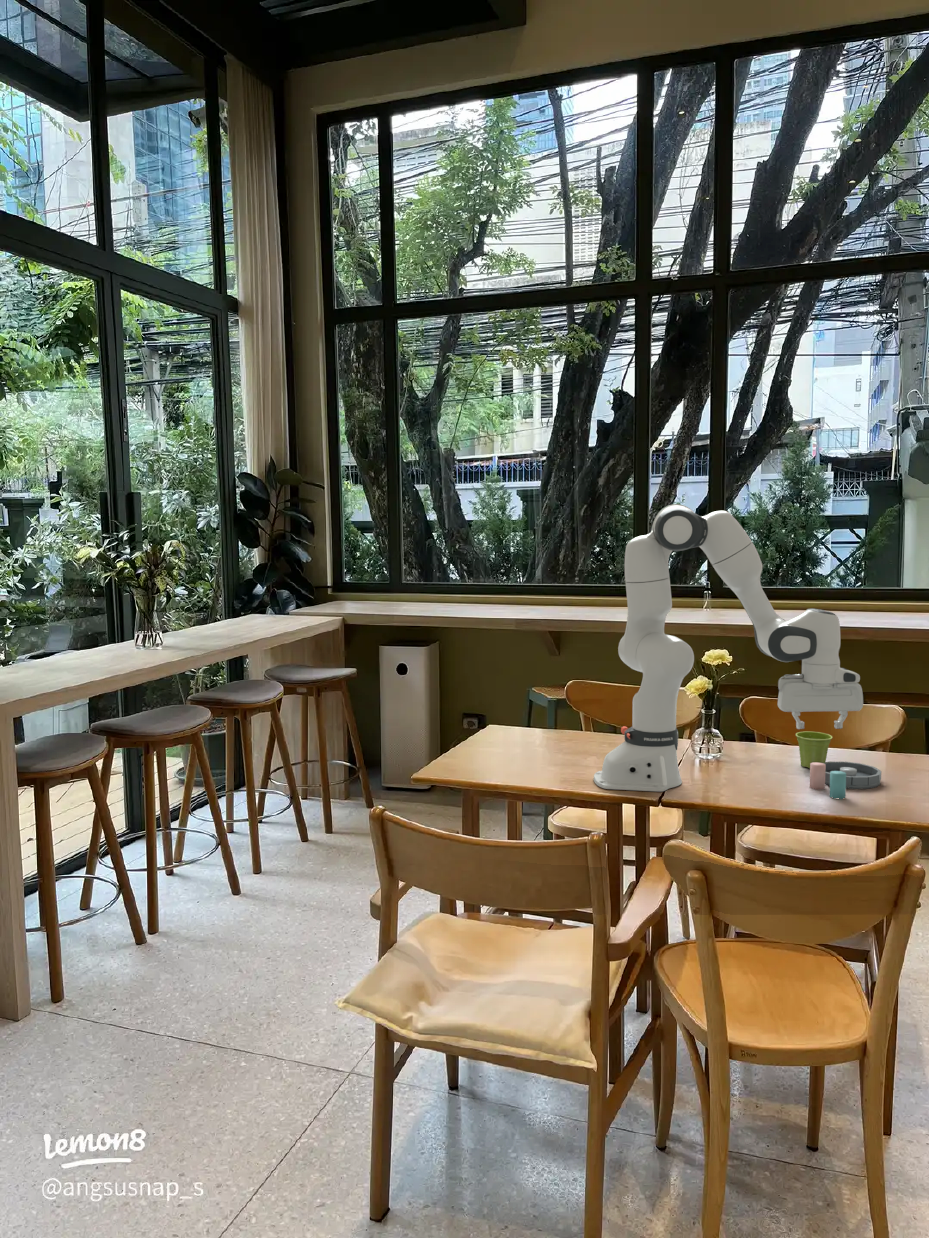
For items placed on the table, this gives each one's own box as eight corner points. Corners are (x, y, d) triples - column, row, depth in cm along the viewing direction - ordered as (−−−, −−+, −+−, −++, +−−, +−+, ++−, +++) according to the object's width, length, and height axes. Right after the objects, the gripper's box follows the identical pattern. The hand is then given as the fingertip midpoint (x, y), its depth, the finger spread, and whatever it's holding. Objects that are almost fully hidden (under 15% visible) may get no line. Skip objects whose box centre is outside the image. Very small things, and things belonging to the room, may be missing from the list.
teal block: (832, 799, 220) (833, 774, 219) (827, 794, 223) (827, 770, 223) (847, 799, 220) (848, 774, 219) (842, 794, 223) (842, 770, 223)
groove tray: (829, 789, 228) (829, 777, 228) (807, 772, 243) (808, 761, 243) (890, 788, 227) (891, 777, 227) (865, 772, 243) (865, 761, 242)
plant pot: (826, 762, 253) (827, 731, 252) (835, 771, 244) (836, 739, 243) (791, 761, 255) (792, 731, 254) (799, 770, 245) (799, 738, 244)
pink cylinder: (812, 789, 228) (813, 766, 227) (807, 785, 231) (808, 762, 231) (827, 789, 228) (827, 766, 227) (821, 785, 231) (822, 762, 231)
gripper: (782, 676, 224) (781, 731, 225) (866, 675, 223) (865, 730, 224) (774, 672, 230) (773, 726, 231) (856, 671, 229) (854, 725, 231)
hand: (819, 728), depth 228 cm, fingers open, 8 cm apart
